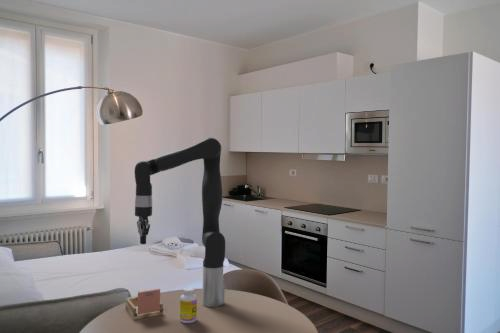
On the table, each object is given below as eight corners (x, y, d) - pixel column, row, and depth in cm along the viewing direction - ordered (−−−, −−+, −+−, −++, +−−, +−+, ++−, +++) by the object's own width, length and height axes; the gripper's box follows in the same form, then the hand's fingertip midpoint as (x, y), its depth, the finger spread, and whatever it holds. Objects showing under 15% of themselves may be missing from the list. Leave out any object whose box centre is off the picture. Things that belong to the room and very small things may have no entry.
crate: (152, 304, 179) (152, 294, 179) (163, 315, 166) (163, 304, 166) (125, 308, 172) (125, 298, 172) (134, 320, 160) (134, 309, 160)
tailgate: (159, 310, 166) (159, 288, 166) (160, 311, 165) (160, 289, 165) (137, 313, 161) (137, 291, 161) (138, 315, 160) (138, 292, 160)
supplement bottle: (193, 324, 157) (193, 292, 157) (177, 322, 158) (177, 290, 158) (198, 318, 163) (199, 287, 163) (183, 316, 165) (184, 285, 165)
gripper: (156, 206, 175) (155, 245, 175) (147, 203, 187) (146, 240, 187) (139, 207, 171) (138, 247, 171) (131, 204, 183) (130, 241, 183)
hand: (142, 243), depth 179 cm, fingers closed
